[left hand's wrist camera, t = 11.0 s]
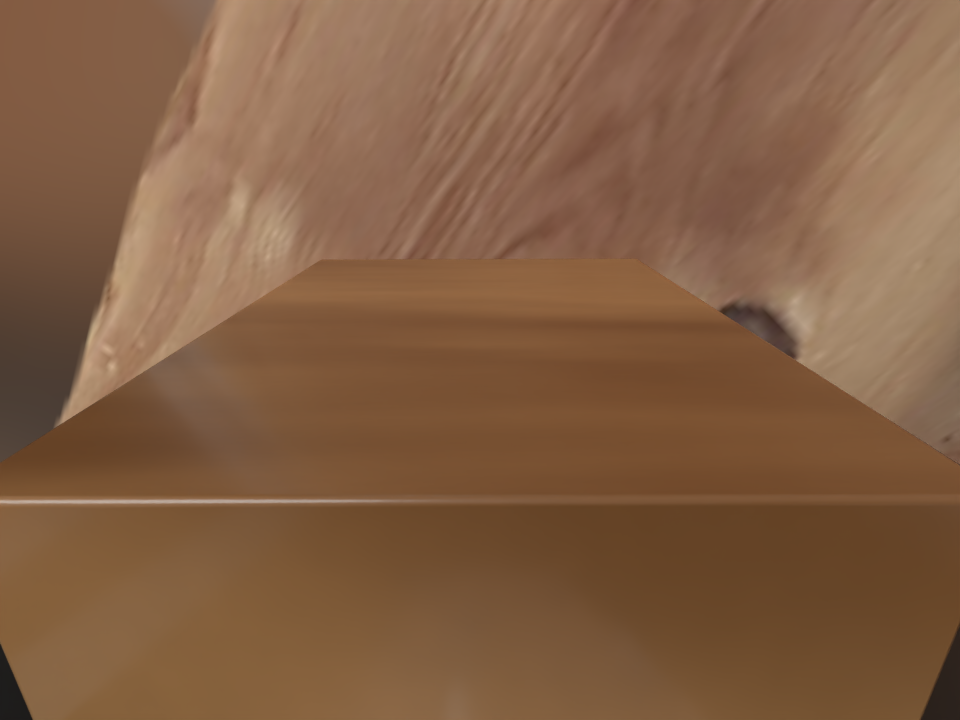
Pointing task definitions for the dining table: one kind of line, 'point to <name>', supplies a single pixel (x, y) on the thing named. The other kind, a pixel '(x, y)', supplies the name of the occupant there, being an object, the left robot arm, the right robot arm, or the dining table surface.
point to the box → (478, 516)
